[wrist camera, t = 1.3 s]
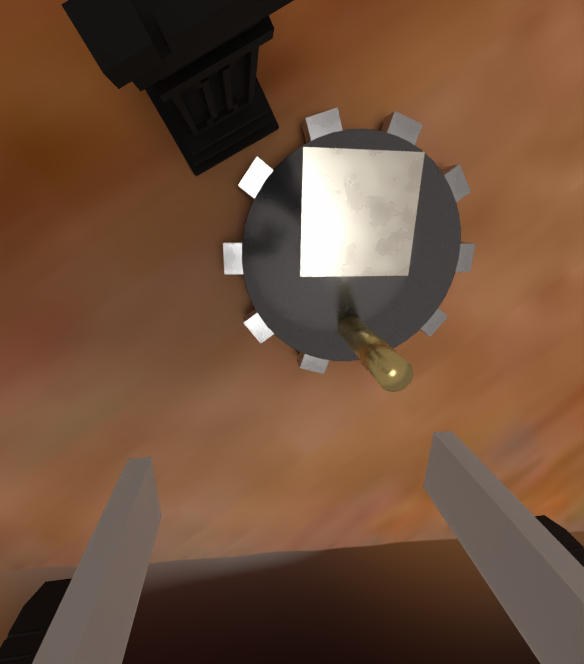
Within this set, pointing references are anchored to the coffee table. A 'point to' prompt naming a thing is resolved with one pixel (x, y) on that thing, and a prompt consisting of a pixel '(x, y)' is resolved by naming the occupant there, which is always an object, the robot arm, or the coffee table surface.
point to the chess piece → (187, 66)
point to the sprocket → (351, 245)
